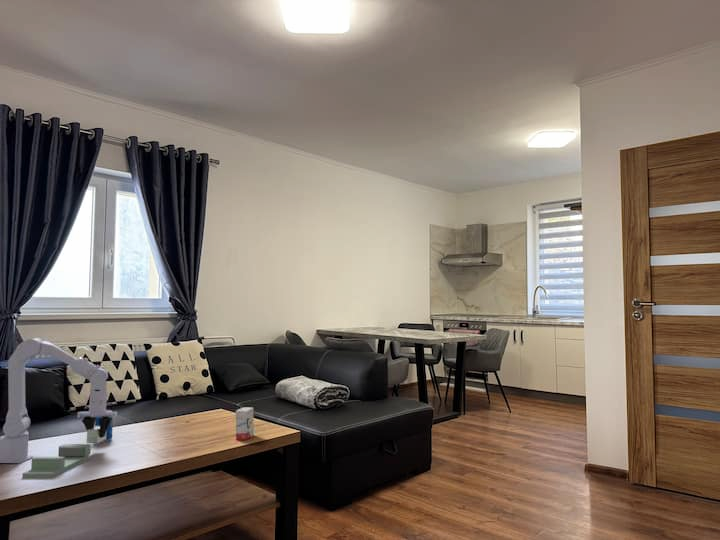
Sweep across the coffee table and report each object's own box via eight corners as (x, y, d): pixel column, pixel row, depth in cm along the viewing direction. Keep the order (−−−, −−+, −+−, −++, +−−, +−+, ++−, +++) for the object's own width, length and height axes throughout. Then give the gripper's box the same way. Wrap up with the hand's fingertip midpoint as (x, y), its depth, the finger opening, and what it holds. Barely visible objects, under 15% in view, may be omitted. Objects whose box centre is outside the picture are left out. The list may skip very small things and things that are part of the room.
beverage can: (107, 442, 199) (108, 412, 200) (91, 442, 199) (92, 413, 200) (115, 438, 206) (115, 409, 207) (99, 438, 206) (100, 409, 207)
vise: (22, 478, 158) (23, 462, 158) (62, 459, 178) (62, 445, 178) (52, 478, 158) (53, 462, 158) (88, 459, 177) (89, 445, 178)
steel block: (86, 443, 183) (87, 429, 183) (95, 439, 189) (96, 425, 189) (97, 443, 183) (97, 429, 183) (106, 439, 189) (106, 425, 189)
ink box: (246, 440, 201) (246, 411, 202) (234, 440, 202) (235, 411, 203) (254, 435, 209) (254, 407, 210) (243, 434, 210) (243, 406, 211)
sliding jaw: (56, 457, 175) (57, 447, 175) (63, 453, 179) (64, 444, 179) (84, 457, 175) (84, 447, 175) (90, 453, 178) (90, 444, 179)
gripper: (73, 402, 183) (71, 439, 182) (110, 402, 183) (109, 439, 182) (84, 399, 190) (82, 434, 189) (120, 399, 190) (119, 434, 189)
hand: (96, 436), depth 186 cm, fingers closed on steel block, 4 cm apart
